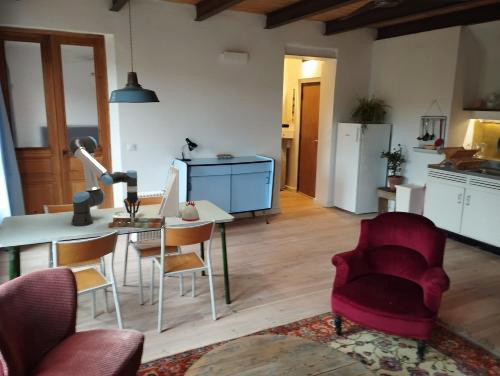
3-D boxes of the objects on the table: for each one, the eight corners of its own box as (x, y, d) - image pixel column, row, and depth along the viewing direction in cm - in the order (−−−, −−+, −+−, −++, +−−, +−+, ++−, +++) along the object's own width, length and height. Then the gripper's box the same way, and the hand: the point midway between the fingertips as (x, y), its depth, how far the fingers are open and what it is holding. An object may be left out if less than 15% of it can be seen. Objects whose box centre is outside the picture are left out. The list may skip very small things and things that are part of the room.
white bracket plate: (155, 212, 343) (154, 166, 335) (172, 211, 350) (171, 165, 342) (161, 219, 326) (161, 169, 318) (179, 217, 332) (178, 169, 324)
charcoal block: (137, 226, 305) (137, 221, 304) (139, 223, 312) (139, 218, 311) (147, 226, 306) (147, 221, 305) (148, 223, 312) (148, 218, 312)
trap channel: (108, 227, 299) (108, 220, 298) (113, 222, 314) (113, 215, 313) (162, 227, 302) (162, 221, 301) (165, 222, 316) (164, 216, 316)
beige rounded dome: (195, 222, 320) (195, 203, 318) (179, 220, 323) (179, 202, 320) (201, 217, 334) (201, 199, 331) (185, 216, 336) (185, 198, 334)
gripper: (122, 192, 298) (122, 222, 303) (140, 192, 300) (140, 223, 304) (124, 189, 306) (124, 220, 311) (142, 190, 307) (142, 220, 312)
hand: (132, 221), depth 307 cm, fingers closed
